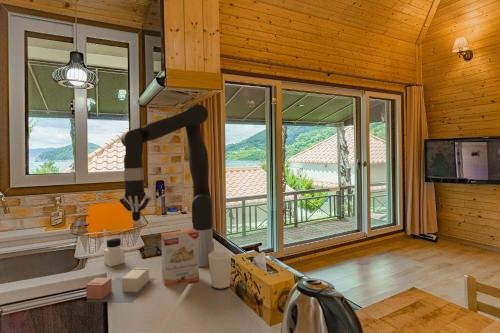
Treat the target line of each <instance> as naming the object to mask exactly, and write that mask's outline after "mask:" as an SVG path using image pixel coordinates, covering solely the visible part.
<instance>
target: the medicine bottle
mask: <svg viewBox="0 0 500 333" xmlns="http://www.w3.org/2000/svg"><path fill="white" fill-rule="evenodd" d="M121 242H122V240H121V239H120V238H118V237H112V238H111V237H110V238H109V239H107V241H106V248H104V249H103V263H104V264H105V265H106V266H108V267H109V268H111V267H116V266H117V265H118V266H119V265H122V264H125V262H126V261H125V260H126V258H125V248H123V247H122V245H121V244H122V243H121Z"/></svg>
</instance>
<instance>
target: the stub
mask: <svg viewBox="0 0 500 333" xmlns="http://www.w3.org/2000/svg"><path fill="white" fill-rule="evenodd" d="M112 281H113V280H112V277H95V278H93V279H92V280H91V281H90V282H88V283H86V284H85V292H86V295H85V296H86V299H89V298H91V299H103V298H104V297H105V296H107V295H108V294H109V293H110V292H111V291H112Z"/></svg>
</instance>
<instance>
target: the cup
mask: <svg viewBox="0 0 500 333" xmlns="http://www.w3.org/2000/svg"><path fill="white" fill-rule="evenodd" d="M232 257H233V258H234V253H233V252H232V251H230V250H214V252H211V253H209V254H208V258H209V266H208V267H209V273H210V280H211V282H210V283H211V287H212V288H213V289H218V290H219V291H221V290H223V289H228V288H230V286H231V285H230V273H231V258H232Z"/></svg>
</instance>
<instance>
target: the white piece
mask: <svg viewBox="0 0 500 333" xmlns="http://www.w3.org/2000/svg"><path fill="white" fill-rule="evenodd" d="M156 279H157V278H156V277H150V268H149V267H134V268H132V269H131V271H129V272H127V274H124V276H123V277H121V276H120V277H119V276H117V277H115V278H114V279H113V280H112V291H111V292H110V293H109V294H108V295H107V296H105V297H104V298H103V299H91V298H87V300H86V302H90V303H91V302H95V303H96V302H97V303H100V302H101V303H128V304H129V303H132V304H133V303H134V302H135V301H136V299H138V298H139V297H140V296H141V295H142V293H143V292H145V290H146V289H147V288H148V287H149V286H150V285H151V284H152V283H153V282H154V281H155V280H156Z"/></svg>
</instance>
